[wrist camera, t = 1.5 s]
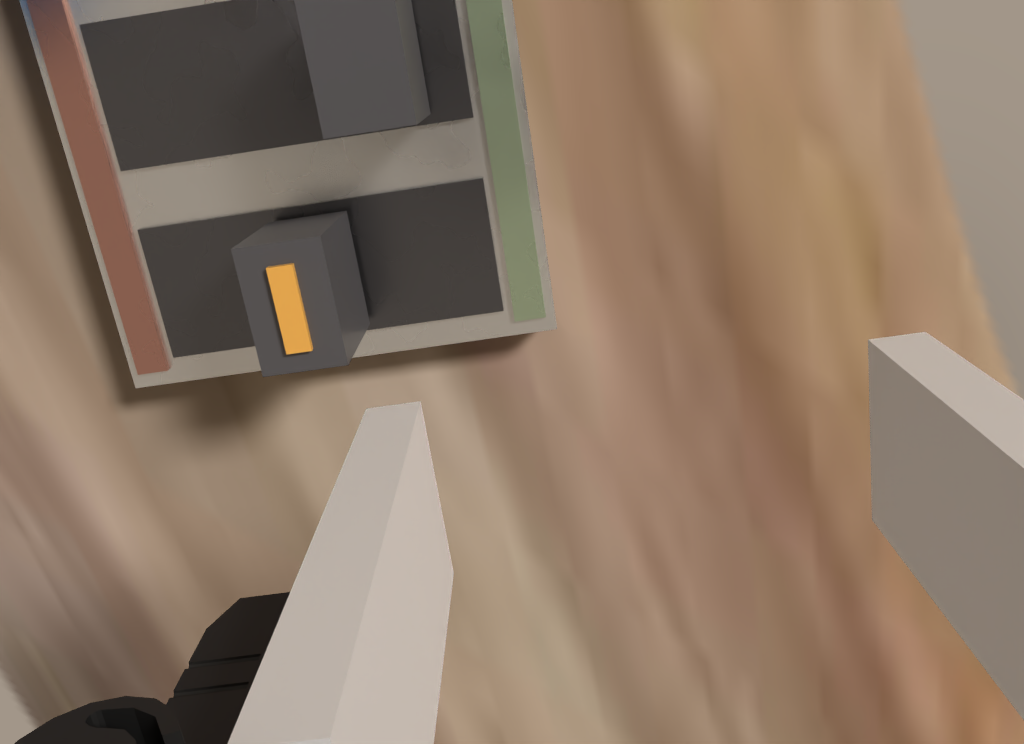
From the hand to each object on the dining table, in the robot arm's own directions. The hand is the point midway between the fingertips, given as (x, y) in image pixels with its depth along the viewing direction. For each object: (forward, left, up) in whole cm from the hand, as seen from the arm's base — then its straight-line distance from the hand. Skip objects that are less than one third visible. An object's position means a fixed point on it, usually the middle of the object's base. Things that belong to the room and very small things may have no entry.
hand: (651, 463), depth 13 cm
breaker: (-6, -5, -16) cm, 18 cm away
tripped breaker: (0, -8, -16) cm, 18 cm away
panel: (-6, -8, -19) cm, 21 cm away
